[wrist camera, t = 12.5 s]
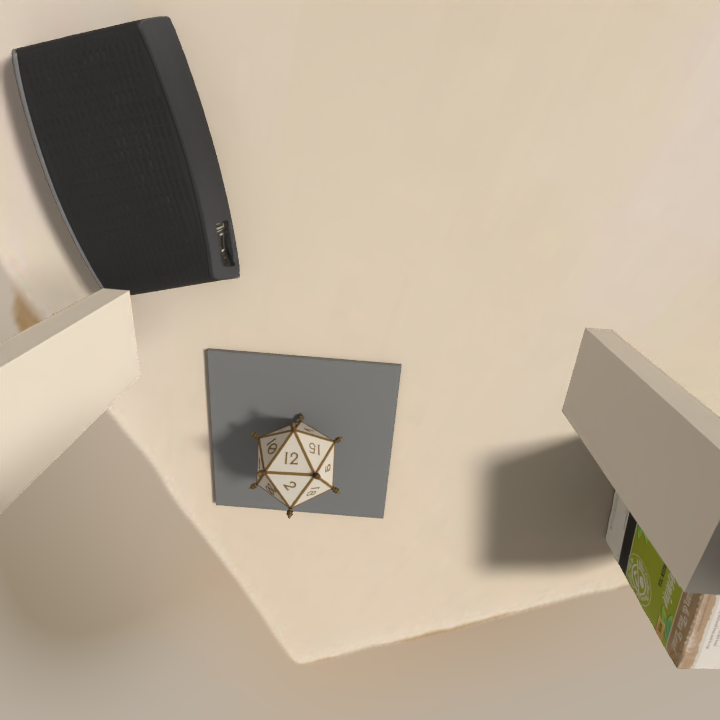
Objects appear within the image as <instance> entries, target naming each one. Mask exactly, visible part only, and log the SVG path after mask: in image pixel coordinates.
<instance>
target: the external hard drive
mask: <svg viewBox="0 0 720 720" xmlns="http://www.w3.org/2000/svg"><path fill="white" fill-rule="evenodd" d="M12 61H13V67H14V72H15V77H16V81H17V85H18V89H19V93H20V97H21V101H22V105H23V108H24V112H25V116H26V119H27V123H28V126H29V129H30V132H31V136H32V139H33V142H34V145H35V148H36V151H37V154H38V157H39V160H40V162H41V165H42V168H43V171H44V174H45V176H46V179H47V182H48V184H49V187H50V189H51V192H52V194H53V197H54V199H55V201H56V203H57V206H58V208H59V210H60V213H61V215H62V217H63V219H64V222H65V223H66V226H67V228H68V230H69V232H70V234H71V236H72V238H73V240H74V242H75V244H76V246H77V248H78V250H79V252H80V253H81V255H82V257H83V259H84V261H85V263H86V264H87V266H88V268H89V270H90V271H91V273H92V275H93V276H94V278H95V280H96V281H97V283H98V285H99V286H100V288H101V289H103V288H104V289H116V290H129V291H130V295H135V294H142V293H148V292H153V291H159V290H166V289H171V288H177V287H183V286H189V285H196V284H201V283H207V282H214V281H220V280H227V279H233V278H234V279H235V278H239V277H240V274H239V271H240V270H239V260H238V253H237V247H236V241H235V235H234V230H233V225H232V220H231V215H230V210H229V205H228V201H227V196H226V192H225V188H224V183H223V179H222V175H221V171H220V167H219V163H218V160H217V155H216V152H215V148H214V145H213V141H212V137H211V134H210V131H209V127H208V124H207V121H206V118H205V114H204V111H203V107H202V104H201V101H200V98H199V95H198V92H197V89H196V86H195V83H194V80H193V77H192V74H191V72H190V69H189V66H188V63H187V60H186V57H185V54H184V52H183V50H182V47H181V44H180V41H179V39H178V36H177V34H176V31H175V28H174V26H173V24H172V22H171V20H170V18H169V17H166V16H165V17H162V16H161V17H153V18H147V19H142V20H137V21H132V22H128V23H124V24H119V25H115V26H111V27H107V28H102V29H98V30H93V31H89V32H85V33H80V34H75V35H71V36H67V37H64V38H60V39H55V40H51V41H47V42H42V43H38V44H34V45H30V46H25V47H21V48H17V49H13V50H12Z"/></svg>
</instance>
